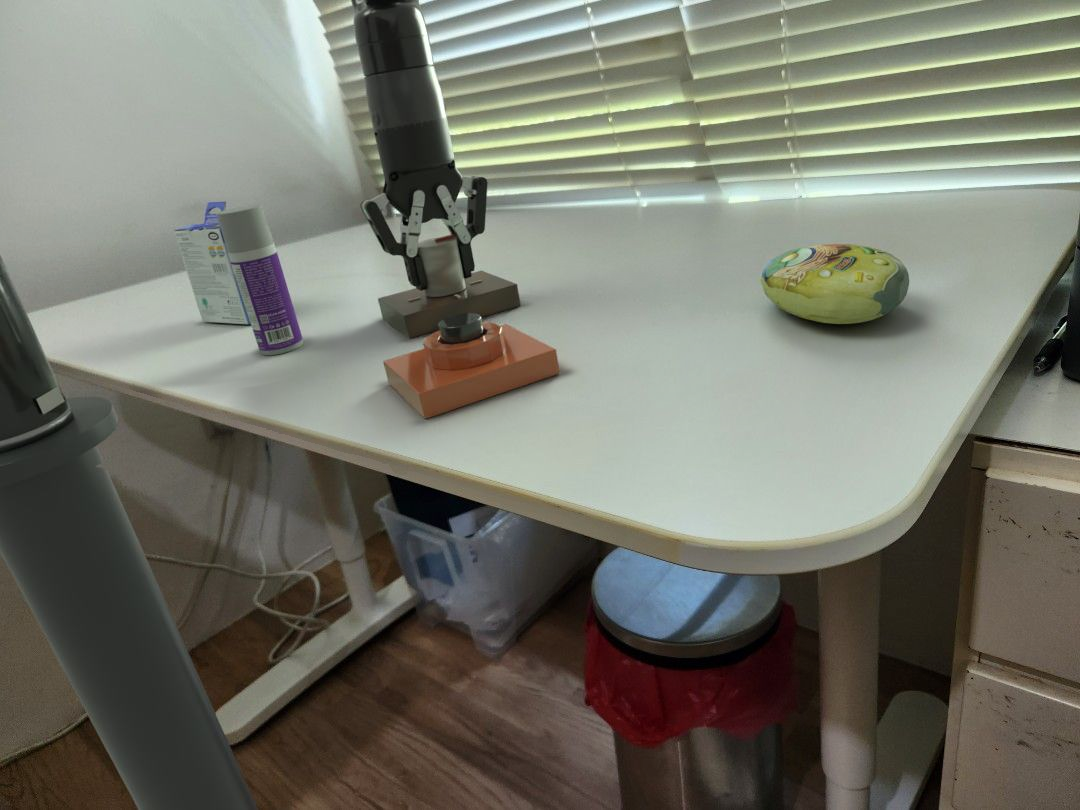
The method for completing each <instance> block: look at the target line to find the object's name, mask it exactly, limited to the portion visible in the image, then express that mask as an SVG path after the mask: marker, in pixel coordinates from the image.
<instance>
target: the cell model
mask: <svg viewBox="0 0 1080 810" xmlns="http://www.w3.org/2000/svg"><path fill="white" fill-rule="evenodd" d="M760 284H761V286H762V289H763V292H764V294H765V295H766V297H767V298H768V299H769V300H770V301H771V303H773V304H774V305H775V306H776V307H778V308H780V309H781V310H783V311H784V312H787V313H788V314H791V315H794V316H795V317H798V318H802V319H804V320H810V321H813V322H818V323H823V324H833V325H850V324H851V325H853V324H859V323H865V322H870V321H873V320H876V319H879V318H881V317H884V316H885V315H887V314H889V313H891V312H892V311H893V310H894V309H896V308H897V307H899V305H900V304H901V303H902V302H903V301H904V300H905V298H906V296H907V295H908V291H909V287H910V275H909V272H908V269H907V267H906V266H905V264H904V263H903V262H902V261H901V259H899V258H897V257H896V256H894V255H893V254H891V253H890V252H887V251H885V250H882V249H879V248H875V247H871V246H864V245H857V244H849V243H828V244H827V243H826V244H819V245H811V246H804V247H799V248H795V249H791V250H789V251H785V252H782V253H781V254H779V255H777V256H775V257H774V258H773V259H771V260H770V261H769V262H768V263H767V264H766V265H765V267H764V269H763V270H762V273H761V275H760Z"/></svg>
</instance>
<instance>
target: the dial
mask: <svg viewBox="0 0 1080 810" xmlns="http://www.w3.org/2000/svg"><path fill="white" fill-rule="evenodd" d="M417 255H418V256H421V261H422V266H423V270H424V275H425V279H426V284H427V289H426V290H424V291H425V295H426V296H428V297H442V296H448V295H452V294H456V293H458V292H461V291H463V290H464V289H465V288H466V284H465V279H464V274H463V269H462V264H461V259H460V254H459V249H458V244H457V239H456V237H455V234H451V233H450V234H447V235H443V236H439V237H433V238H429V239H425V240H422V241H418V250H417Z"/></svg>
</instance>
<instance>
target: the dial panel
mask: <svg viewBox="0 0 1080 810" xmlns="http://www.w3.org/2000/svg"><path fill="white" fill-rule="evenodd" d="M471 274H472V276H471V277H469V278H466V279H465V278H464V279H465V284H466V288H465V289H464V290H463V291H461V292H458V293H456V294H452V295H448V296H442V297H428V296H426V295H425V291H424V290H422V291H420V290H418V289H417V288H416V287H414V288H412V289H411V288H410V289H407V290H404V291H399V292H397V293H393V294H389V295H386V296H382V297H378V298H377V301H378V305H379V310H380V313H381V317H382V320H383V321H385V322H386V323H387V324H389V325H390V326H391V327H393V328H394V329H396V330H397V331H399V333H401V334H402V335H403V336H405V337H406V338H408V339H412V338H417V337H420V336H424V335H426V334H430V333H435V332H437V331H439V326H438V324H439V322H440V321H442V320H443V319H445V318H448V317H450V316H454V315H458V314H465V313H475V314H479V315H480V316H481V318H484V317H488V316H491V315H494V314H497V313H501V312H504V311H508V310H511V309H514V308H518V307H521V300H520V294H519V288H518V283H516V282H513V281H510V280H508V279H505V278H502V277H500V276H497V275H495V274H492V273H489V272H488V271H487V272H486V271H484V270H479V271H473V272H471Z"/></svg>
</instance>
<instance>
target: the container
mask: <svg viewBox="0 0 1080 810" xmlns="http://www.w3.org/2000/svg"><path fill="white" fill-rule="evenodd" d="M263 208H264V207H263V205H262V204H261V203H257V204H256V203H255V204H248V205H241V206H237V207H236V206H235V207H231V208H228V209H225V210H224V211H221V210H220V211H218V212H216V214H217V217H218V221H219V224H220V228H221V231H222V234H223V238H224V241H225V244H226V248H227V251H228V255H229V258H230V261H231V265H232V268H233V271H234V274H235V277H236V280H237V283H238V286H239V289H240V292H241V295H242V298H243V301H244V304H245V308H246V311H247V314H248V317H249V320H250V325H251V329H252V332H253V335H254V338H255V341H256V344H257V347H258V350H259V354H261V355H263V356H276V355H280V354H285V353H288V352H292V351H295V350H297V349H298V348H300V347H302V346H303V344H304V338H303V335H302V332H301V329H300V325H299V321H298V317H297V315H296V312H295V308H294V305H293V304H294V303H293V301H292V298H291V294H290V292H289V288H288V283H287V281H286V277H285V274H284V270H283V268H282V264H281V261H280V258H279V254H278V251H277V247H276V245H275V242H274V239H273V236H272V232H271V229H270V226H269V223H268V221H267V218H266V215H265V211H264V209H263Z"/></svg>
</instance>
